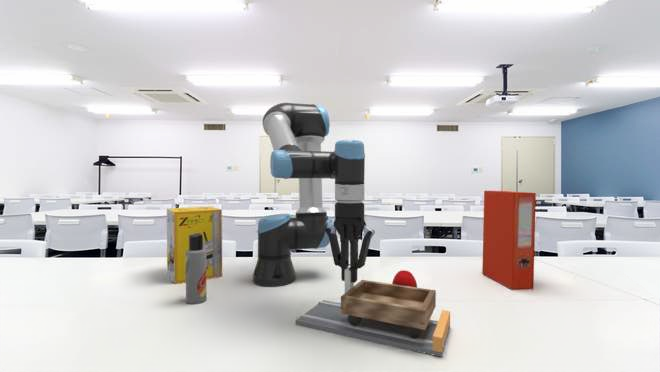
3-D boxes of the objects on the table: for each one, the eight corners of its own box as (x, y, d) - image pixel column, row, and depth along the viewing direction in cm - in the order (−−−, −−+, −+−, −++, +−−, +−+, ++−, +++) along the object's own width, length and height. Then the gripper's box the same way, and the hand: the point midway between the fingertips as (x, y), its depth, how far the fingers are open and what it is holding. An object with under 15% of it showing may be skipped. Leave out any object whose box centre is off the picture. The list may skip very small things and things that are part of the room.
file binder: (502, 274, 127) (503, 190, 126) (534, 289, 110) (535, 192, 109) (482, 274, 126) (483, 190, 126) (511, 289, 109) (512, 192, 108)
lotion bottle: (210, 298, 101) (210, 233, 100) (197, 305, 95) (196, 236, 95) (195, 296, 103) (194, 232, 102) (181, 302, 97) (181, 234, 97)
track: (295, 324, 83) (295, 308, 83) (323, 303, 97) (323, 290, 97) (441, 357, 68) (441, 337, 68) (450, 327, 82) (450, 311, 82)
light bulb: (418, 315, 89) (418, 278, 89) (391, 313, 90) (391, 276, 90) (416, 302, 98) (416, 268, 98) (392, 300, 99) (392, 267, 99)
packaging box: (222, 276, 124) (221, 209, 123) (174, 284, 115) (174, 211, 114) (210, 266, 137) (210, 206, 137) (167, 273, 128) (166, 208, 127)
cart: (340, 326, 78) (340, 296, 78) (362, 305, 91) (362, 279, 91) (425, 344, 70) (425, 311, 70) (435, 318, 83) (435, 290, 83)
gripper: (319, 201, 84) (319, 294, 84) (368, 203, 78) (368, 303, 79) (332, 200, 91) (332, 286, 91) (378, 201, 85) (378, 293, 85)
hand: (349, 293), depth 85 cm, fingers closed
